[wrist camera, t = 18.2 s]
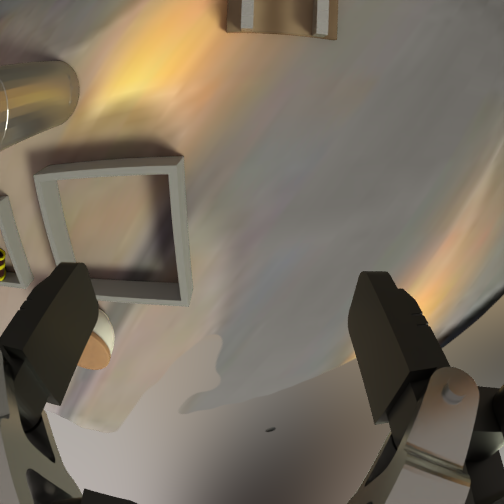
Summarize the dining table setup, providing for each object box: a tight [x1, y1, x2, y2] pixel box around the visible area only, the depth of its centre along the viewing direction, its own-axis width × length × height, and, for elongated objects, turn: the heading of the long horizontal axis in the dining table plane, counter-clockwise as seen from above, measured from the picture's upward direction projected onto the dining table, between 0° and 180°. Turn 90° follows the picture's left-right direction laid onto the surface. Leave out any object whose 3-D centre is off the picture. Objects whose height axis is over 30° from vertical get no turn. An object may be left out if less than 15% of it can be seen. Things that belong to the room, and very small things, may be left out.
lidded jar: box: [77, 309, 115, 370], centre depth 47 cm, size 11×11×9 cm
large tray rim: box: [33, 156, 193, 307], centre depth 40 cm, size 20×20×4 cm
